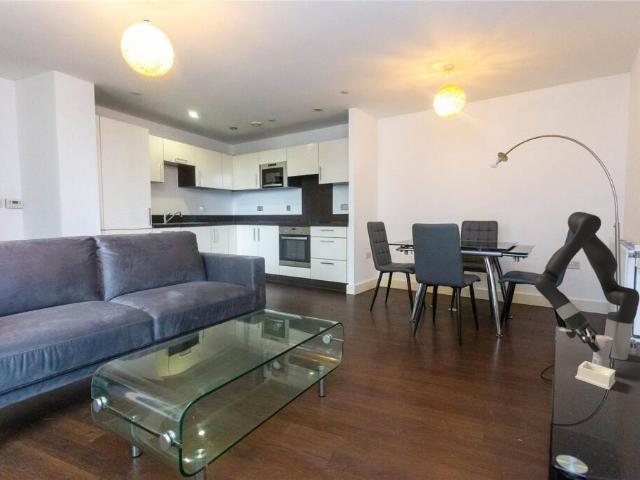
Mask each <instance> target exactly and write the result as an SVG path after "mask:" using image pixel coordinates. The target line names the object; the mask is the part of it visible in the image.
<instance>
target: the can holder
mask: <svg viewBox="0 0 640 480" xmlns="http://www.w3.org/2000/svg"><path fill="white" fill-rule="evenodd" d="M615 375H616V370H615V369H612V368H610V367H609V368H606V367H603V366H600V365H597V364H594V363H592V362H590V361H586V360H584V361H583V362H582V363H580V364H579V366H578V367H577V374H576V375H575V377H574V378H575V379H576V380H580V381H583V382H586V383H588V384H591V385H594V386H597V387H599V388H602V389H606V390H610V389H611V388H612V387H613V386H614V384H615V383H616V379H615Z"/></svg>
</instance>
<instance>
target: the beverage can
mask: <svg viewBox="0 0 640 480" xmlns="http://www.w3.org/2000/svg"><path fill="white" fill-rule="evenodd" d="M594 343H595V344H596V346H597V347H598V348H599V349H600V351H598V352H594V351H593V350H592V351H593V352H592V353H593V354H592V360H591V363H594V364H597V365H600V366H603V367H606V368H609V369H610V365H611V359H612V358H611V351H612V344H613V339H612V338H611V337H608V336H604V335H603V334H598V335H596V337H595V342H594Z"/></svg>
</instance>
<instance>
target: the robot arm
mask: <svg viewBox="0 0 640 480" xmlns="http://www.w3.org/2000/svg"><path fill="white" fill-rule="evenodd" d="M601 225H602V220H601V218H600V216H597V215H596V214H591V213H587V212H584V211H575V212H573V213H571V214H570V215H569V217H568V218H567V227H568V228H569V230H570V231H571V233H572V234H573V237H572V238H571V239H570V240H569V241H568V242H566V244H564V245H562V246H561V247H560V248H558V249H557V250H556V251H555V252H554V253H553V254H552V256H551V257H550V259H549V260H548V261H547V263H546V265H545V267H544V268H545V269H544V271H543V272H542V273H541V275H540V276H537V277H536V278H535V279H534V282H533V283H534V287H535V289H536V290H537V291H538V292H539V293H540V294H541V295H542V296H543V297H544V299H546V300H547V301H548V303H549V304H550V305H551V306H552V308H553V309H554V310H556V312H557V314H558V315H559V317H560V318H561V319H562V320H563V322H564V323H565V324H566V325H567V326H568V327H569V329H574V328H575V330H573V332H574V333H575V335H577V337H578V338H579V339H580V341H581V342H582V343H583V344H584V345H588V346H589V348H590V349H591V350H592V351H594V352H598V351H600V349H599V348H598V347H597V346H596V344H595V337H596V335H599V333H598V332H597V331H596V329H594V328H593V327H592V325H591V324H590V323H588V322H587V321H588V319H587V318H586V316H585V315H584V314H583V312H581V310H580V309H579V308H578V307H577V306H576V305H575V304H574V303H573V302H572V301H571V300H570V299H569V298H568V297H567V295H566V294H564V293H563V292H562V291H560V289H558V286H556V284H557V282H558V281H559V279H560V278H561V275H562V274H563V273H564V271H565V270H566V269H567V267H568V266H569V264H570V263H571V261H572V260H573V259H574V258H575V256H576V255H577V254H578V253H579V251H580V250H583V253H584V254H585V256H586V259H587V260H588V262H589V264H590V266H591V268H592V270H593V271H594V273H595V275H596V278H597V279H598V282H599V283H600V286H601V290H602V293H603V296H604V298H605V299H606V301H607V302H608V303H609V304H612V305H615V306H618V307H619V309H618V310H617V311H609V312H608V313H607V314H606V315H607V316H606V322H605V327H604V328H605V329H604V336H608V337H611V338H612V339H613V344H612V351H611V358H610V359H615V360H621V361H627V360H628V359H629V354H630V353H629V351H630V346H631V339H632V332H633V327H634V326H633V325H634V320H635V318H636V317H637V313H638V310H639V309H638V307H639V305H640V293H639V291H638V290H637V289H634V288H631V287H625V286H622V285H620V284H619V283H618V282H617V280H616V278H615V274H616V272H617V270H618V265H619V264H618V262H617V260H616V258H615V255H614V254H613V252H612V250H611V249H610V248H609V247H608V245H606V244H605V243H604V242H603V241H602V240H601V238H599V236H597V233H598V231H599V230H600V229H601ZM585 322H587V323H585Z"/></svg>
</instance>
